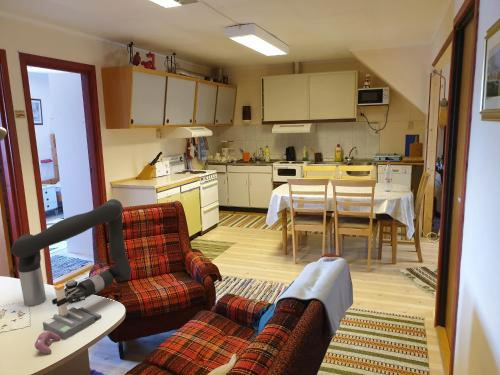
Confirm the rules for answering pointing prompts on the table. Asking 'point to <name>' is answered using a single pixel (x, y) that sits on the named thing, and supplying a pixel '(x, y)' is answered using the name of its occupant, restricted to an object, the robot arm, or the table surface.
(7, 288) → the table surface
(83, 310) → the grey long flat bar
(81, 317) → the breaker panel
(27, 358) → the table surface
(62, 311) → the breaker lever
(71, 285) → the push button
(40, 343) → the video game controller
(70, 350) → the table surface
